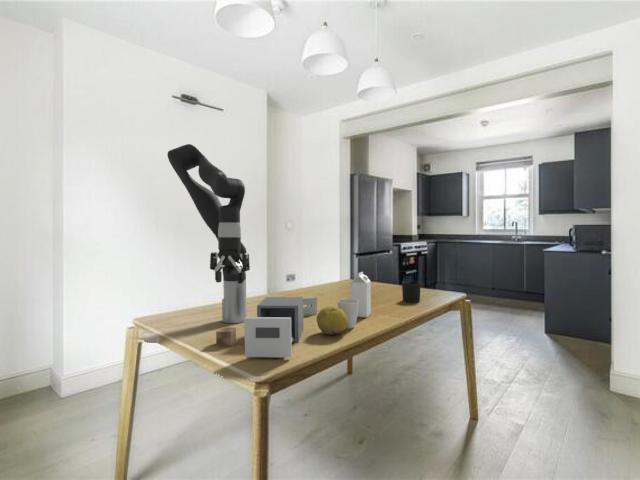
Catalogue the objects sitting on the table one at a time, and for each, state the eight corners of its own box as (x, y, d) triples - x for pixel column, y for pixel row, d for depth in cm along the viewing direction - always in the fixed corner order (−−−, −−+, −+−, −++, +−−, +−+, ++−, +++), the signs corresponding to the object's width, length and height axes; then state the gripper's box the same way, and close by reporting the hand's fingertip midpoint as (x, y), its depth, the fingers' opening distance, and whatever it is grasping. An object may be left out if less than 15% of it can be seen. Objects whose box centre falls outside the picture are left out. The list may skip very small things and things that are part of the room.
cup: (360, 324, 140) (360, 299, 140) (355, 330, 132) (355, 303, 132) (340, 323, 143) (340, 298, 142) (335, 328, 135) (334, 302, 135)
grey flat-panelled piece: (244, 357, 103) (244, 318, 103) (257, 340, 119) (256, 307, 118) (291, 357, 102) (290, 318, 102) (297, 341, 118) (297, 307, 117)
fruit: (324, 340, 120) (324, 311, 120) (311, 331, 131) (311, 305, 131) (353, 336, 125) (353, 308, 125) (338, 328, 136) (338, 302, 135)
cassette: (316, 313, 160) (315, 296, 160) (317, 314, 158) (317, 297, 158) (290, 316, 155) (290, 299, 155) (292, 317, 154) (291, 299, 153)
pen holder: (417, 303, 179) (417, 283, 179) (399, 301, 184) (399, 282, 184) (422, 300, 187) (422, 281, 187) (405, 298, 192) (405, 280, 192)
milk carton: (350, 316, 153) (350, 273, 153) (355, 313, 160) (355, 271, 159) (366, 318, 151) (366, 273, 150) (370, 314, 157) (370, 271, 157)
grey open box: (257, 341, 120) (257, 305, 120) (267, 329, 135) (266, 297, 135) (298, 342, 119) (298, 305, 119) (303, 329, 134) (303, 297, 134)
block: (216, 346, 116) (216, 331, 116) (221, 341, 121) (221, 327, 121) (231, 346, 115) (231, 331, 115) (235, 342, 120) (235, 327, 120)
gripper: (205, 235, 121) (205, 283, 121) (242, 236, 116) (242, 285, 117) (218, 235, 128) (218, 280, 128) (253, 236, 123) (253, 282, 124)
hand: (229, 282), depth 122 cm, fingers open, 8 cm apart
